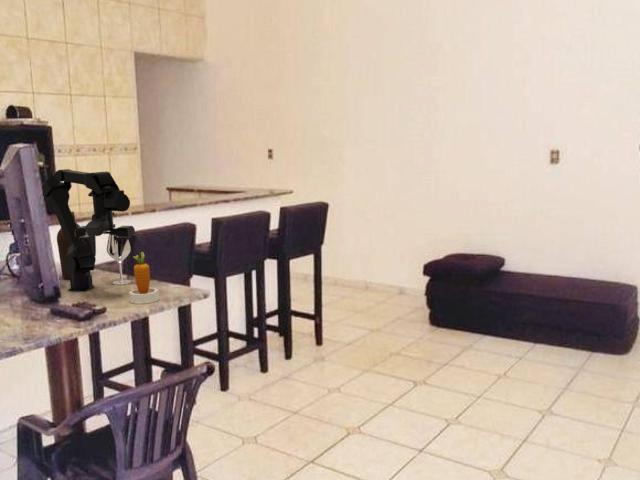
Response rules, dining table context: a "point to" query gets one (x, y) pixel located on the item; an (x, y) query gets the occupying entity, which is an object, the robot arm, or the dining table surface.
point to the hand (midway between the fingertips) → (107, 256)
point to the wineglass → (113, 252)
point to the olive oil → (64, 250)
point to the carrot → (142, 274)
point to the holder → (144, 296)
